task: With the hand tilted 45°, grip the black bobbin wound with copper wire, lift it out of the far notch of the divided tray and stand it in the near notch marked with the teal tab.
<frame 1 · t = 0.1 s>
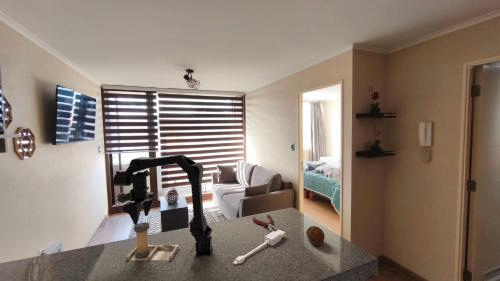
hand: (141, 220, 98), 15 cm above the countertop, tool pointing down, fingers open, 9 cm apart
divided tray: (153, 256, 96), on the countertop
bobbin: (142, 254, 95), point 1 cm above the countertop, touching divided tray
potato: (315, 242, 105), on the countertop
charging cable: (261, 249, 101), on the countertop
pliers: (264, 226, 125), on the countertop
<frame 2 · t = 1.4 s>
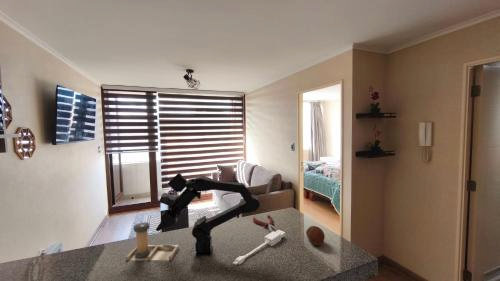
hand: (159, 225, 95), 13 cm above the countertop, tool tilted 45°, fingers open, 9 cm apart
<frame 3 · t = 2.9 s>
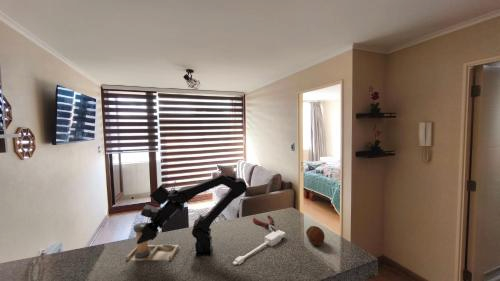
hand: (141, 237, 95), 9 cm above the countertop, tool tilted 45°, fingers open, 9 cm apart
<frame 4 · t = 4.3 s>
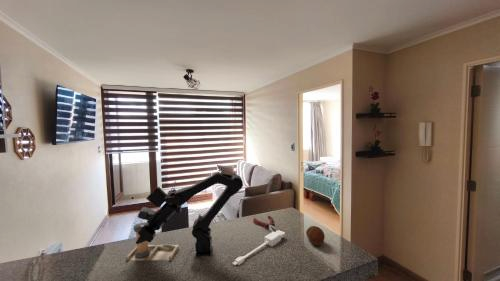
hand: (138, 240, 95), 8 cm above the countertop, tool tilted 45°, fingers closed on bobbin, 5 cm apart
bobbin: (142, 254, 95), point 1 cm above the countertop, touching gripper, divided tray
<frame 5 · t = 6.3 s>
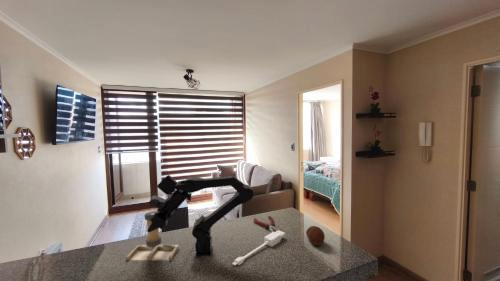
hand: (149, 228, 94), 13 cm above the countertop, tool tilted 45°, fingers closed on bobbin, 5 cm apart
bobbin: (153, 243, 95), point 6 cm above the countertop, touching gripper
when the fingers open (9 cm above the countertop, at t = 8.5 s): bobbin drops 1 cm, resting on divided tray.
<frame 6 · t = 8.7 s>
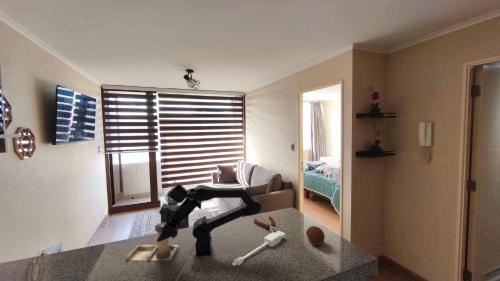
hand: (159, 236, 94), 9 cm above the countertop, tool tilted 45°, fingers open, 7 cm apart
bobbin: (163, 254, 95), point 1 cm above the countertop, touching divided tray
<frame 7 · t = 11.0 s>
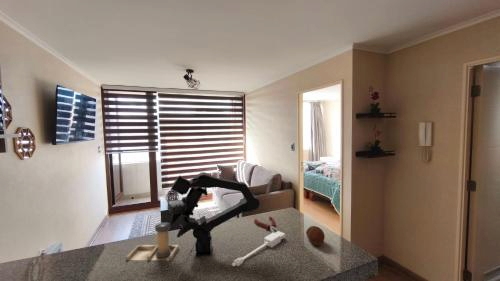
hand: (174, 230, 96), 11 cm above the countertop, tool tilted 30°, fingers open, 9 cm apart
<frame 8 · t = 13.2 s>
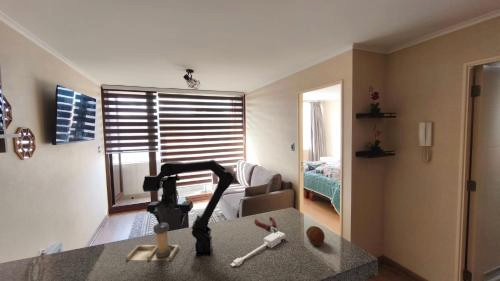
hand: (170, 225, 96), 13 cm above the countertop, tool pointing down, fingers open, 9 cm apart
bobbin: (163, 253, 95), point 1 cm above the countertop, tilted 6°, touching gripper, divided tray
at the end: bobbin 0.1 cm from the target spot on the divided tray, point 1.3 cm above the divided tray's base; bobbin tilted 6°; the gripper is holding nothing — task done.
